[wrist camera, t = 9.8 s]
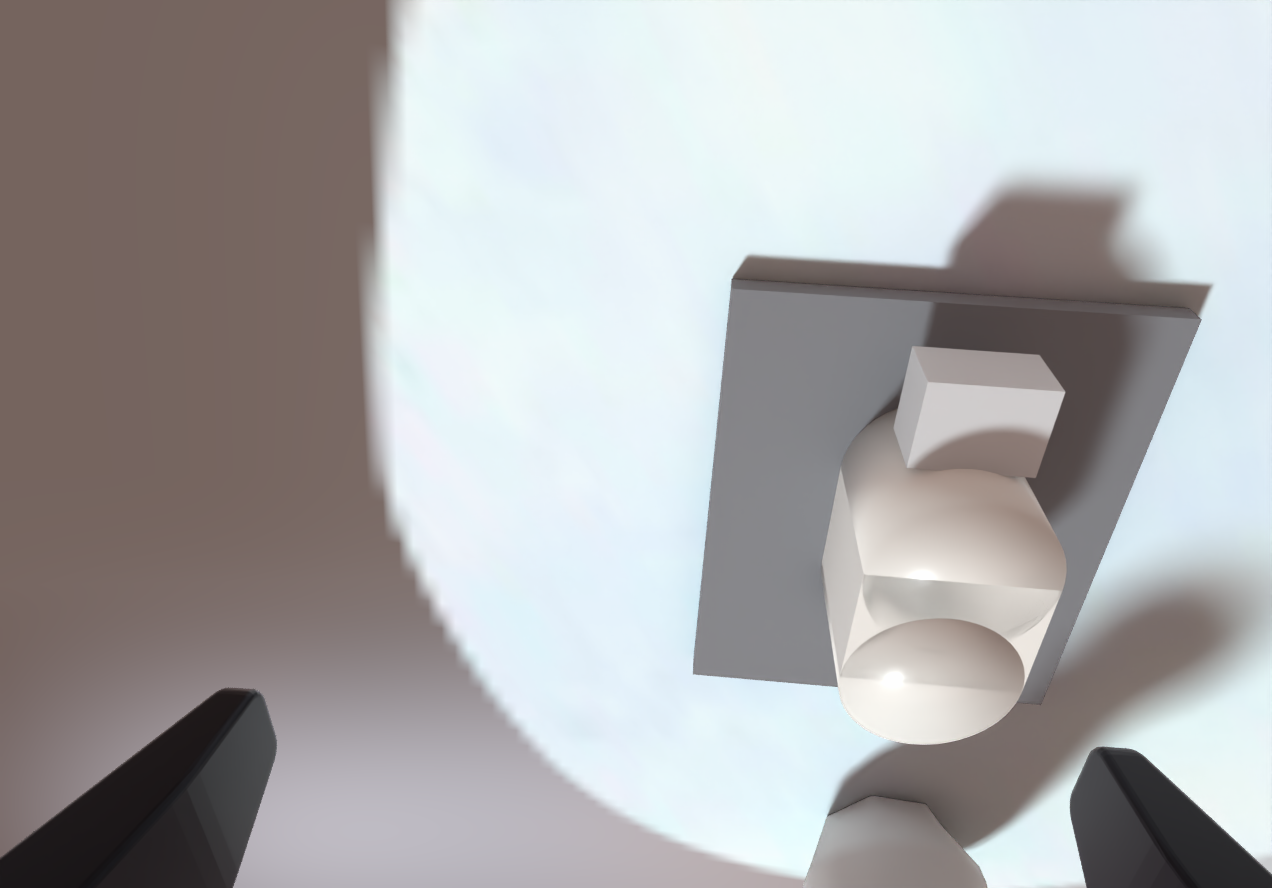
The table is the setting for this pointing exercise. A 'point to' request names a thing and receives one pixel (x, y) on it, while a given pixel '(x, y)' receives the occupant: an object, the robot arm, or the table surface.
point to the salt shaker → (889, 849)
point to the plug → (944, 548)
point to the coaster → (870, 387)
